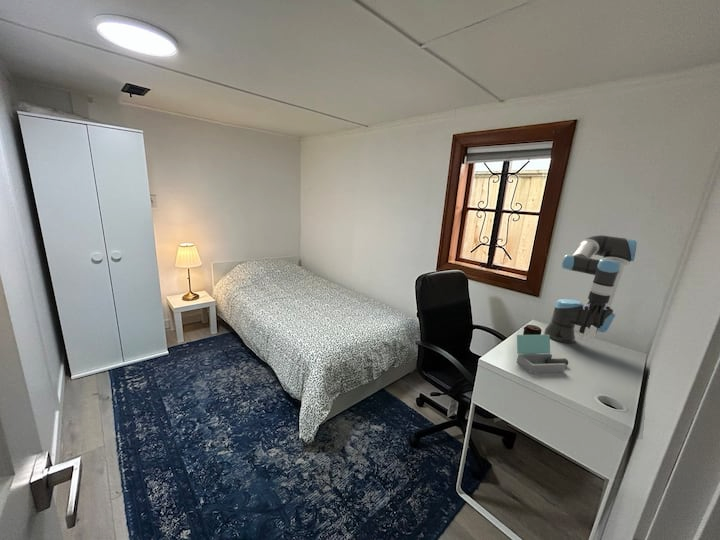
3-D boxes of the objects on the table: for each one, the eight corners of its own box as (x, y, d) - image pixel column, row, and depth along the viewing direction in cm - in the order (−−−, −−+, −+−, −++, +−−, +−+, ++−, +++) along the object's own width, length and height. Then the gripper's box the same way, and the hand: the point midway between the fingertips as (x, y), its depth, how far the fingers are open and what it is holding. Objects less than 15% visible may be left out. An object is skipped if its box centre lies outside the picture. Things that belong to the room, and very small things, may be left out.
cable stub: (563, 366, 145) (561, 359, 147) (569, 364, 143) (566, 357, 144) (546, 366, 144) (543, 359, 145) (551, 365, 141) (549, 358, 142)
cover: (550, 353, 147) (549, 353, 147) (549, 334, 147) (548, 334, 148) (518, 353, 143) (517, 353, 144) (517, 335, 144) (516, 334, 144)
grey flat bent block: (548, 360, 147) (550, 353, 146) (564, 372, 138) (566, 364, 137) (516, 361, 144) (518, 354, 143) (530, 373, 135) (532, 365, 134)
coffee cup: (540, 354, 153) (546, 331, 150) (524, 353, 153) (530, 330, 150) (531, 346, 161) (536, 324, 158) (516, 344, 161) (521, 322, 158)
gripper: (608, 290, 141) (593, 335, 147) (576, 289, 137) (563, 335, 143) (624, 296, 133) (608, 342, 139) (591, 295, 130) (576, 343, 136)
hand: (585, 338), depth 141 cm, fingers open, 4 cm apart
